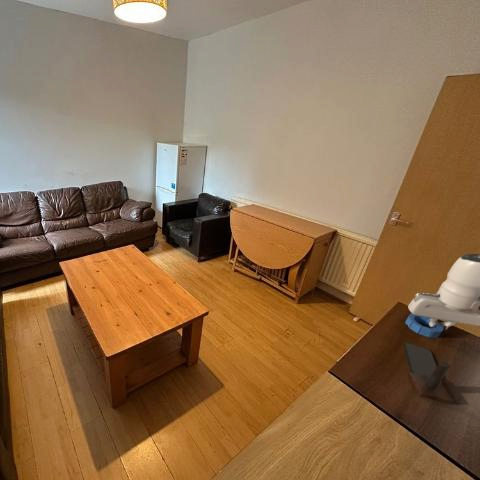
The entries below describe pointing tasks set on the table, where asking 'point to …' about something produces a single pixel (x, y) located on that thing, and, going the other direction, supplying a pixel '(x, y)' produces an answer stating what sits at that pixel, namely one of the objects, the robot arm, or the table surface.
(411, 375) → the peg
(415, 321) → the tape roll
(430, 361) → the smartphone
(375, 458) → the table surface
